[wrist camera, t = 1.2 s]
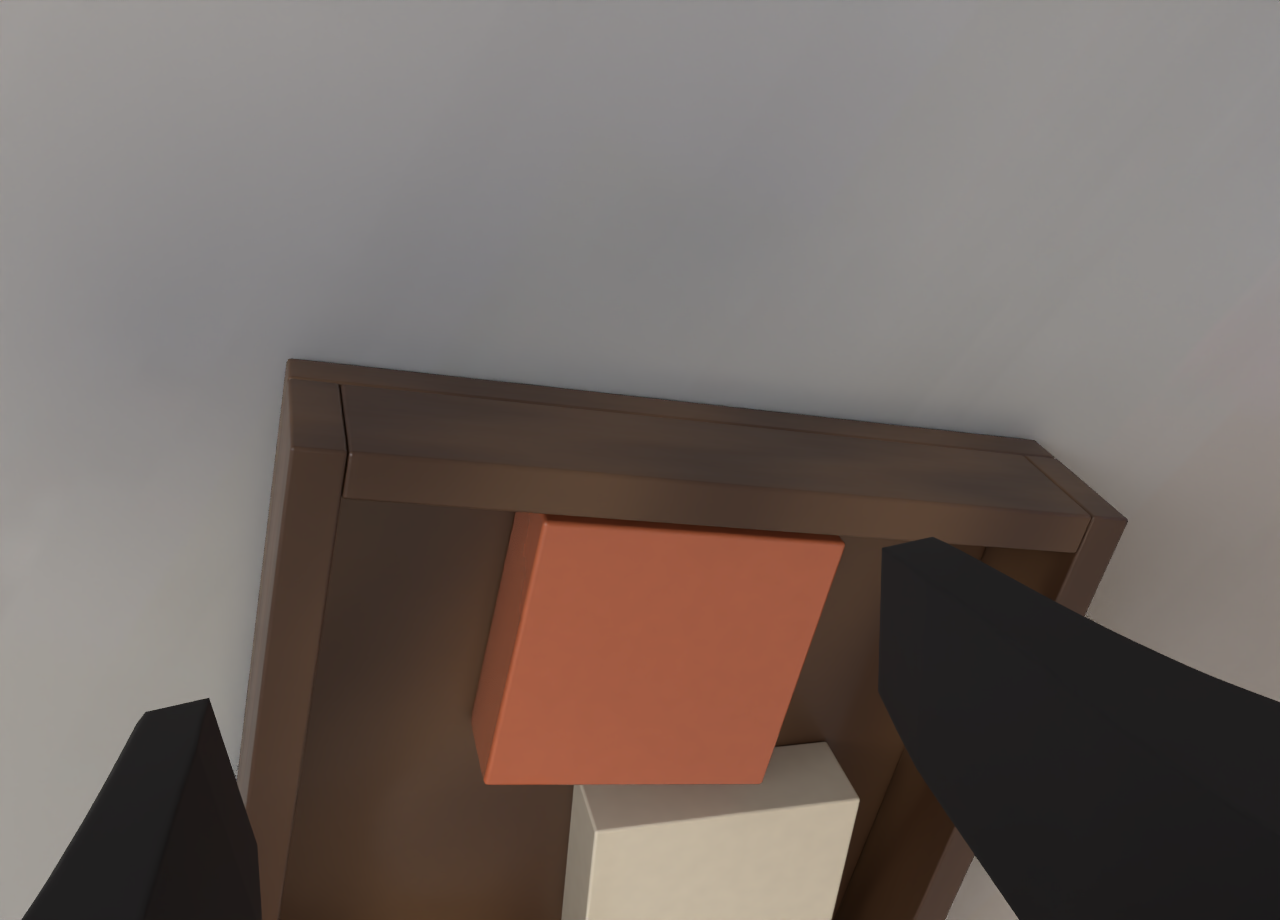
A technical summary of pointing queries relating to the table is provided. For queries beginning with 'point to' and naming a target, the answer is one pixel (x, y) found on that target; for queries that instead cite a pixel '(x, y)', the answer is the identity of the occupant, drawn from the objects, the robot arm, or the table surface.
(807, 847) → the cream coaster
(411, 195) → the table surface
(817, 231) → the table surface
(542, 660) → the terracotta coaster
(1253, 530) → the table surface
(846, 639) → the tray
